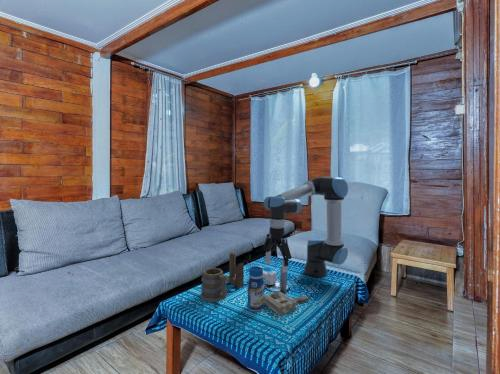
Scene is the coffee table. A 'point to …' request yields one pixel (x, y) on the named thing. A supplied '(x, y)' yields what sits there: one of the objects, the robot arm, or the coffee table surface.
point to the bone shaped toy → (269, 277)
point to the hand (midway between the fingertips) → (276, 267)
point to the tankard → (213, 285)
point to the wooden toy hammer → (235, 272)
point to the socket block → (279, 302)
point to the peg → (283, 282)
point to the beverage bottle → (255, 289)
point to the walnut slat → (301, 299)
